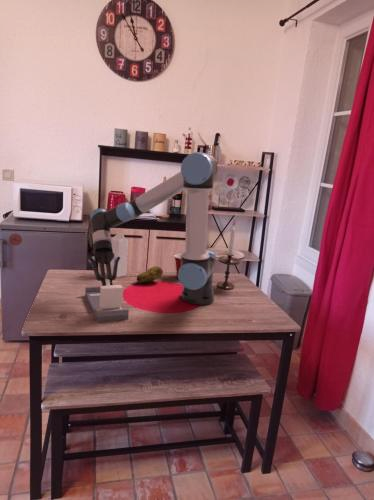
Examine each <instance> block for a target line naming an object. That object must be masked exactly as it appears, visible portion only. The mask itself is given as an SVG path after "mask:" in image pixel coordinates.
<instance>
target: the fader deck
mask: <svg viewBox="0 0 374 500" xmlns="http://www.w3.org/2000/svg"><path fill="white" fill-rule="evenodd" d="M100 286H101V285H94V286H93V285H92V286H85V289H84V290H85V291H84V292H85V293H84V296H85V298H86V301H87V302H88V304H89V305H88V306H89V307H90V309H91V312H92V315H93V317H94V319H95V321H96V323H100V322H101V323H102V322H111V321H113V322H114V321H120V320H121V321H122V320H123V321H124V320H129V312H130V311H129V310H130V309H129V308H128V307H127V308H125V306H124V305H123V304H122V307H119V308H120V309H113V310H102V309H101V308H100Z"/></svg>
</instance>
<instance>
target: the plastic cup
mask: <svg viewBox="0 0 374 500" xmlns="http://www.w3.org/2000/svg"><path fill="white" fill-rule="evenodd" d="M182 254H183V253H177V254H174V255H173V257H174V260H175V269H176V278H178V272H179V269H180V267H181V255H182Z"/></svg>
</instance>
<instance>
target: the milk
mask: <svg viewBox="0 0 374 500" xmlns="http://www.w3.org/2000/svg"><path fill="white" fill-rule="evenodd" d="M111 243H112V250H113V253H114V256H116V257H120V260H119V262H118V268H117V275H116V278H119V277H123V276H126V275H127V267H128V256H129V255H128V253H129V252H128V251H129V239H128V238H127V237H125V234H124V233H121V232H119V231H116V234H115V235H114V236H113V237H111ZM114 263H115V262H114V259H112V261H111V262H110V266H111V273H112V276H113V268H114Z"/></svg>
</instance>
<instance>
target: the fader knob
mask: <svg viewBox="0 0 374 500" xmlns="http://www.w3.org/2000/svg"><path fill="white" fill-rule="evenodd" d="M99 286H100V308H101V309H102V310H113V309H120V308H119V307H122V305H123V297H124V296H123V292H124V291H123V290H124V287H123V286H122V284H113V285H109V286H102V285H99Z"/></svg>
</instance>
